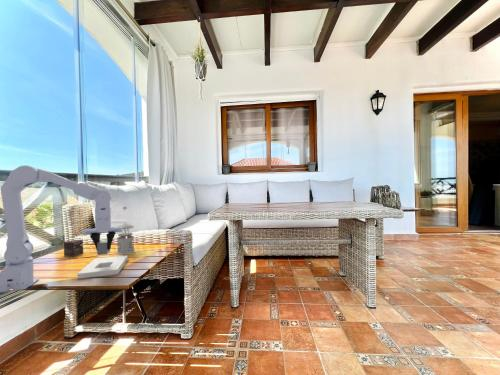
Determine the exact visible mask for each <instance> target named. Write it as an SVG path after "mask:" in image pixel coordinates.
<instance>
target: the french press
mask: <svg viewBox="0 0 500 375" xmlns="http://www.w3.org/2000/svg"><path fill="white" fill-rule="evenodd" d="M122 209H123V210H127V209H128V208H127V206H123V207H122ZM118 227H122V230H124V233H123V232H122V233H120V234H118V235H117V236H118V237H117V238H116V240H117V242H116V243H117V251H116V252H115V255H119V256H126V255H129V253H130V254H133V253H132V252H134V251H135V250H136V249H135V247H134V244H135V243H134V242H135V241H134V236H133V233H132V232H129V229H133V228H134V226H133V225H132V224H128V223H124V224H121V225H118ZM135 252H136V251H135ZM135 252H134V253H135Z"/></svg>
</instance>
